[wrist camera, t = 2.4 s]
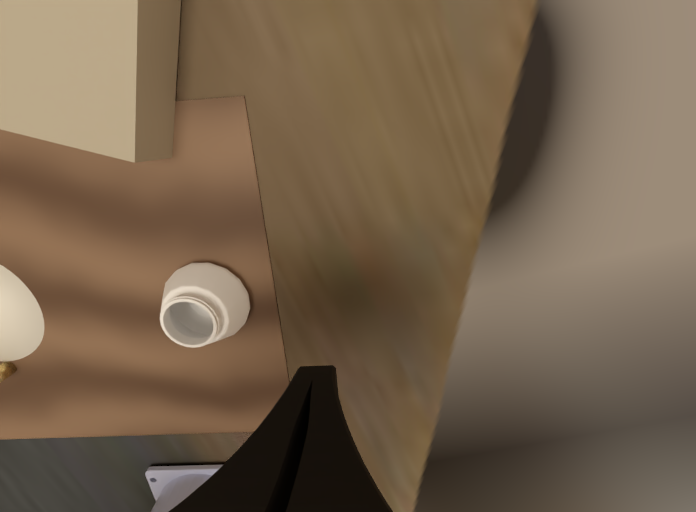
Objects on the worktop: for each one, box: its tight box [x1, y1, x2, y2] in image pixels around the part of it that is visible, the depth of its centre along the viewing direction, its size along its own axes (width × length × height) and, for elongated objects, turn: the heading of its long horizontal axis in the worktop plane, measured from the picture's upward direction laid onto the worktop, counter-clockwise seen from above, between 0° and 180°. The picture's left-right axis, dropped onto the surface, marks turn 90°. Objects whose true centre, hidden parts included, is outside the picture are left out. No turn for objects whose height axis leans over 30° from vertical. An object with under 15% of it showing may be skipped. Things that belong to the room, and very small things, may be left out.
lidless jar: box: [160, 263, 250, 348], centre depth 19 cm, size 5×3×5 cm
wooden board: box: [0, 96, 290, 439], centre depth 20 cm, size 22×28×2 cm
